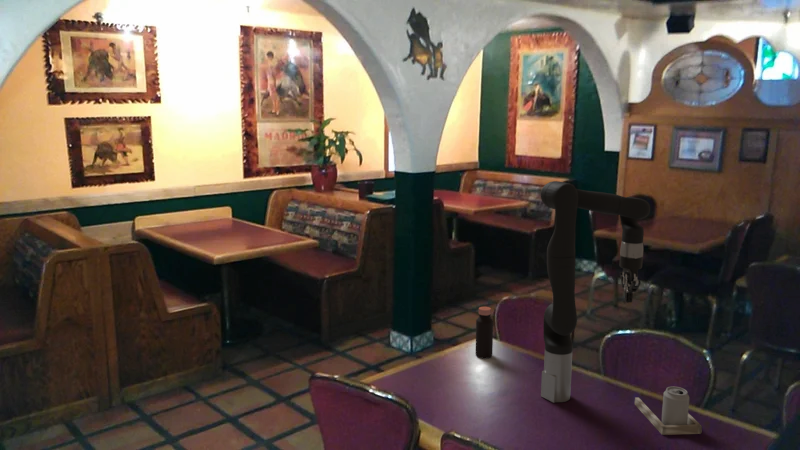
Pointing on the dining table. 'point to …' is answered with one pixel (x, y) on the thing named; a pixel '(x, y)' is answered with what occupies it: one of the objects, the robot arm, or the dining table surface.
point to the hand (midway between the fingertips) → (628, 301)
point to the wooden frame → (691, 428)
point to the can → (675, 406)
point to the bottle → (484, 333)
